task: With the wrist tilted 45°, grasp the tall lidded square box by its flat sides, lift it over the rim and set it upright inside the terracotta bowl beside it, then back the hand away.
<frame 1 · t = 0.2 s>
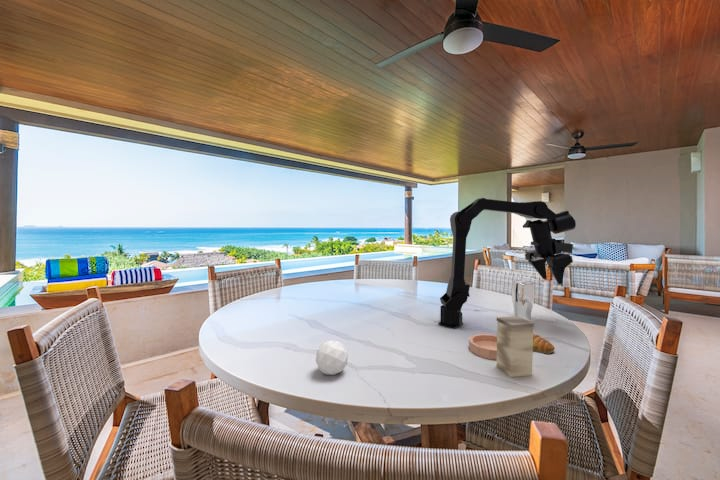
hand: (552, 281, 105), 15 cm above the table, tool pointing down, fingers open, 9 cm apart
geometric ball: (332, 373, 74), on the table
beer glass: (522, 325, 107), on the table
pastry: (533, 348, 88), on the table
terracotta bowl: (491, 350, 86), on the table
lidded square box: (513, 370, 74), on the table
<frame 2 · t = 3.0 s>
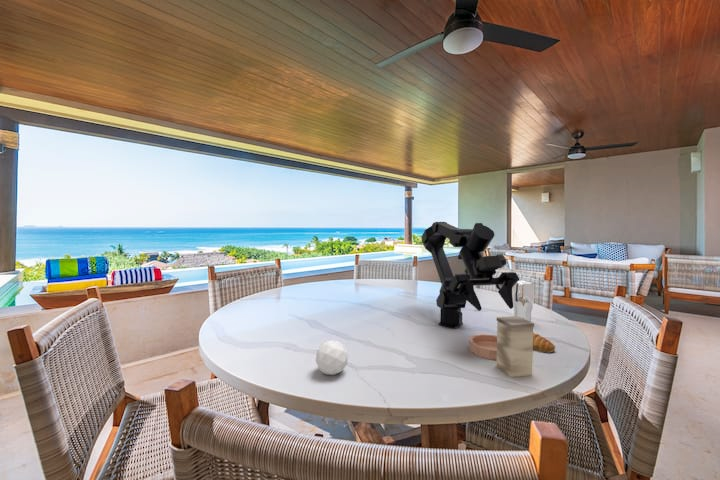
hand: (496, 308, 81), 13 cm above the table, tool tilted 45°, fingers open, 9 cm apart
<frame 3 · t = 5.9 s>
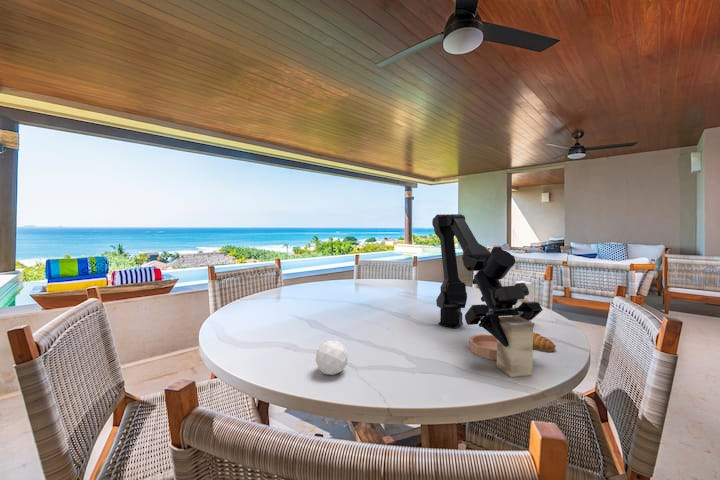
hand: (518, 345, 72), 7 cm above the table, tool tilted 45°, fingers closed on lidded square box, 5 cm apart
lidded square box: (513, 370, 74), on the table, touching gripper
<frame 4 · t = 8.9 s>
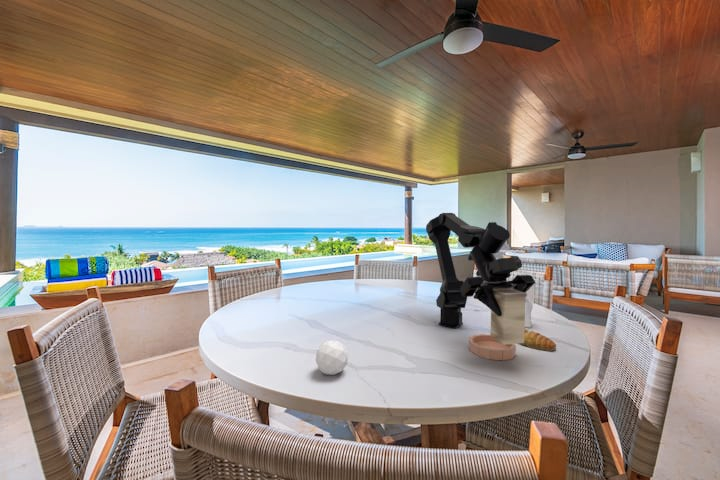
hand: (511, 314, 75), 13 cm above the table, tool tilted 45°, fingers closed on lidded square box, 5 cm apart
lidded square box: (506, 339, 77), point 6 cm above the table, touching gripper
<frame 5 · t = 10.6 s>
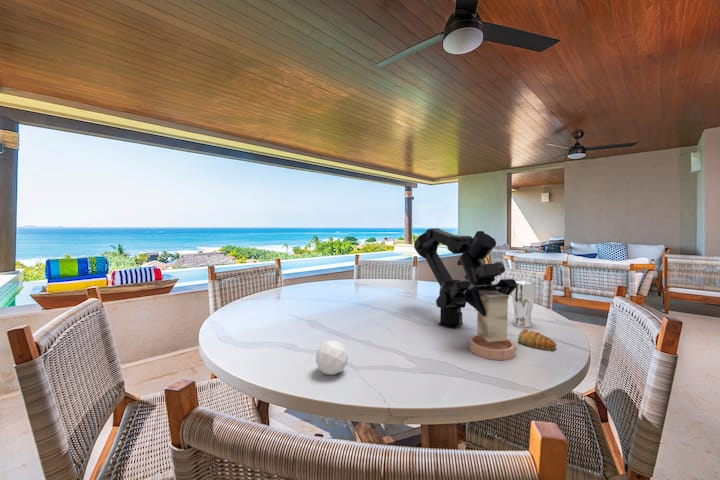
hand: (495, 315, 84), 11 cm above the table, tool tilted 45°, fingers closed on lidded square box, 5 cm apart
lidded square box: (491, 337, 85), point 4 cm above the table, touching gripper
when the fingers open (9 cm above the table, at t = 12.1 s): lidded square box drops 1 cm, resting on terracotta bowl.
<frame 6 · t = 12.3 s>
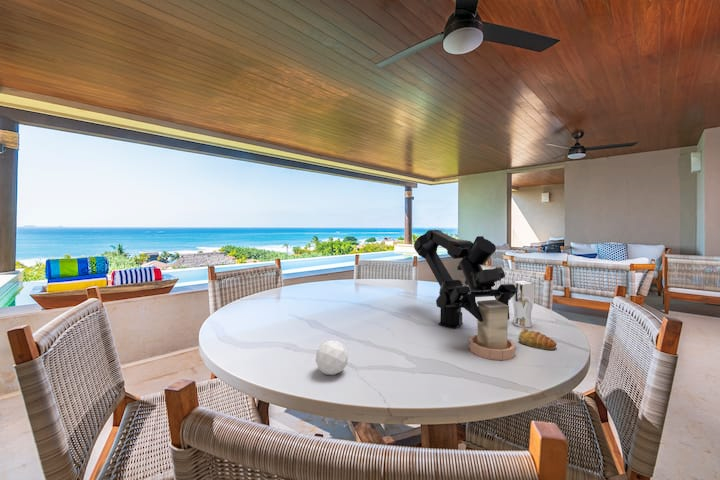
hand: (495, 320, 84), 9 cm above the table, tool tilted 45°, fingers open, 8 cm apart
lidded square box: (491, 346, 85), point 1 cm above the table, touching terracotta bowl
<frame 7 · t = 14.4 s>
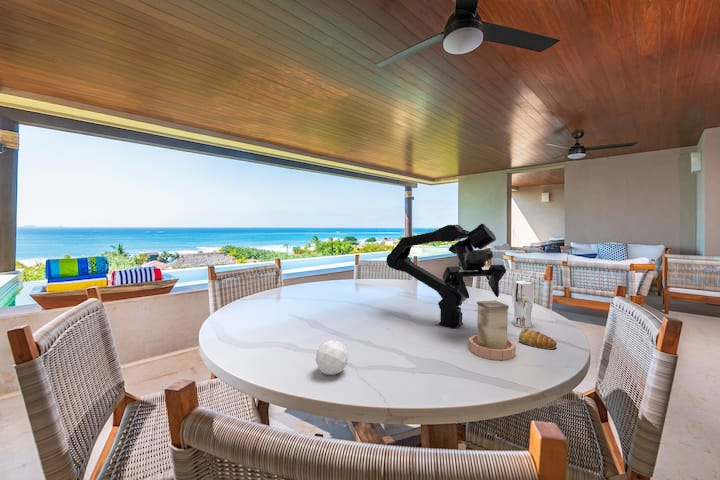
hand: (483, 297, 91), 14 cm above the table, tool tilted 45°, fingers open, 9 cm apart
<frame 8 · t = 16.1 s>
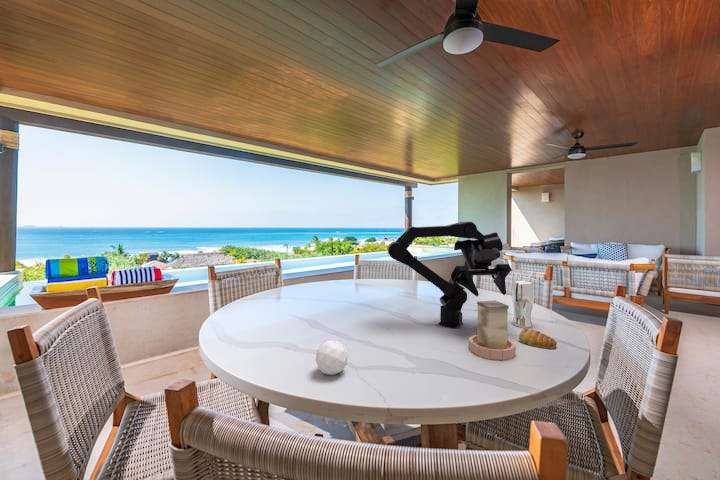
hand: (491, 295, 94), 14 cm above the table, tool tilted 45°, fingers open, 9 cm apart
at the end: lidded square box 0.0 cm off-centre on the terracotta bowl, point 1.0 cm above the terracotta bowl's base; lidded square box tilted 0°; the gripper is holding nothing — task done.
